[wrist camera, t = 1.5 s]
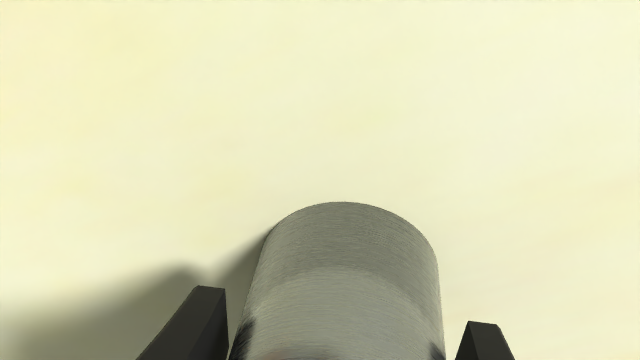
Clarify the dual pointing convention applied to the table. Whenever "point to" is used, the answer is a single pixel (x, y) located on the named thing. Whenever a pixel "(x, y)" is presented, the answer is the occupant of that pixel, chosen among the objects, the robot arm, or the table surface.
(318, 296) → the cylinder
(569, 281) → the table surface
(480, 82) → the table surface
